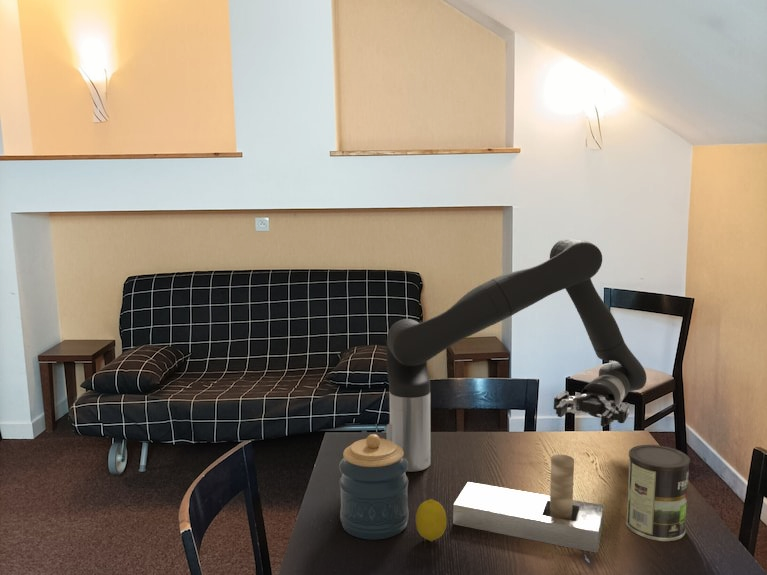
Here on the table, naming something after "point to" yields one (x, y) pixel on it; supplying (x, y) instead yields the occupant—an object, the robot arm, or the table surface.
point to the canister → (374, 489)
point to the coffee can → (657, 492)
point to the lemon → (431, 520)
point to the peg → (561, 487)
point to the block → (528, 516)
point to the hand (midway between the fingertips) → (580, 416)
